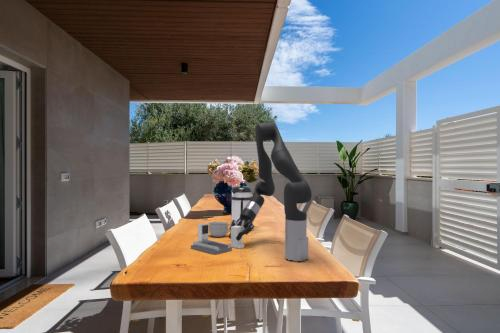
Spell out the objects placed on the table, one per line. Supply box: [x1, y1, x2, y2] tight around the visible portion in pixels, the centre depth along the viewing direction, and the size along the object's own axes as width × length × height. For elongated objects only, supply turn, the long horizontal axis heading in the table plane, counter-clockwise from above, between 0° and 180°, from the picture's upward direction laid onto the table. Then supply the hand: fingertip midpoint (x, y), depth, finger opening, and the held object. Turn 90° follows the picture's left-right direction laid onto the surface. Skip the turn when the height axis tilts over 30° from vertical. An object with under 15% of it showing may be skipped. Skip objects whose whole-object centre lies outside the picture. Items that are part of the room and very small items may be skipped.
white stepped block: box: [230, 226, 245, 250], centre depth 174 cm, size 6×4×10 cm, turn 48°
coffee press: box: [228, 181, 254, 232], centre depth 218 cm, size 17×16×30 cm
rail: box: [190, 222, 233, 256], centre depth 168 cm, size 17×11×12 cm, turn 48°
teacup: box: [208, 221, 231, 238], centre depth 199 cm, size 14×11×8 cm
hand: (233, 238), depth 173 cm, fingers closed on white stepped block, 4 cm apart
